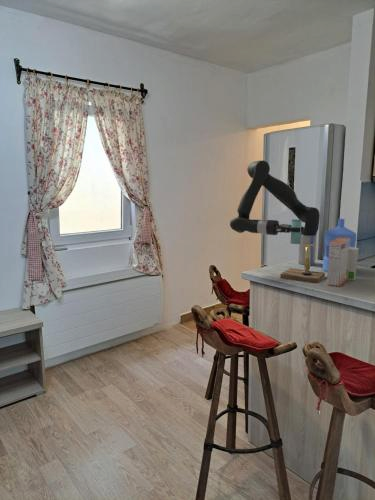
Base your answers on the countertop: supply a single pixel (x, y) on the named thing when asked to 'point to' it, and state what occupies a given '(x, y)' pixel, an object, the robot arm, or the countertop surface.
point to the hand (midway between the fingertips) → (301, 229)
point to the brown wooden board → (302, 275)
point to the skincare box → (352, 263)
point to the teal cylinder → (296, 235)
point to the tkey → (307, 258)
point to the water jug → (334, 234)
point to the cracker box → (338, 261)
